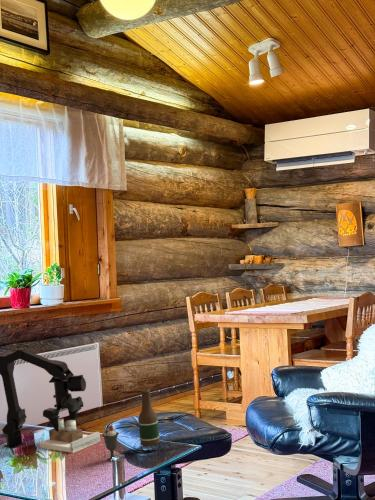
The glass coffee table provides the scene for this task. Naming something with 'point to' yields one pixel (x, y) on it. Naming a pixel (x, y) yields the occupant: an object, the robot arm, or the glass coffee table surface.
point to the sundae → (110, 440)
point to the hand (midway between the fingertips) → (65, 428)
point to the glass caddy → (66, 432)
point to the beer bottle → (148, 421)
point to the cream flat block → (72, 446)
